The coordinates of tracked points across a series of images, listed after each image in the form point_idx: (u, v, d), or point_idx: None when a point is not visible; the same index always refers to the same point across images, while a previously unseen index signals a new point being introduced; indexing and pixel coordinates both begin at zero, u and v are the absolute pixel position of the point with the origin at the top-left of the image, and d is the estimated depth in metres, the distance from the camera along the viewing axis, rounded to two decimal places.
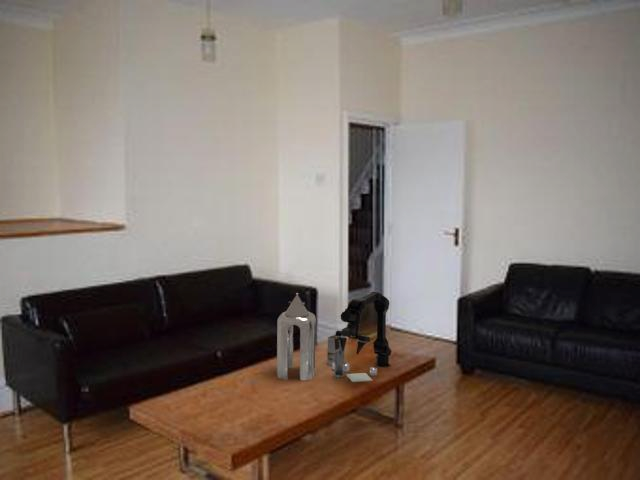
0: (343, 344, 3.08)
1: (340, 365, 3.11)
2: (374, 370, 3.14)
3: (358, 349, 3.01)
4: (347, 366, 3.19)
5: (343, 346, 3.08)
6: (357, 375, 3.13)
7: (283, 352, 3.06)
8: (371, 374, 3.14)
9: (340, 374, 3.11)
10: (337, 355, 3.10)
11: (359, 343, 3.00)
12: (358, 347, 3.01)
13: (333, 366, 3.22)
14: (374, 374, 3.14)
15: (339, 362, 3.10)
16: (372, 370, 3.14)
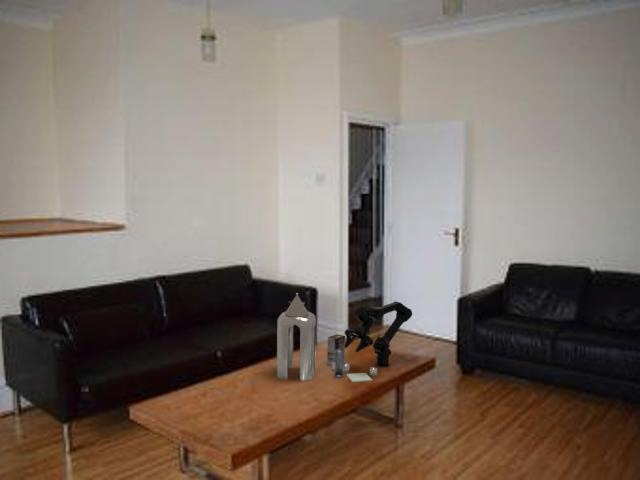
0: (348, 342, 3.21)
1: (340, 365, 3.11)
2: (374, 370, 3.14)
3: (358, 347, 3.13)
4: (347, 366, 3.19)
5: (347, 344, 3.21)
6: (357, 375, 3.13)
7: (283, 352, 3.06)
8: (371, 374, 3.14)
9: (340, 374, 3.11)
10: (337, 355, 3.10)
11: (361, 341, 3.13)
12: (359, 345, 3.13)
13: (333, 366, 3.22)
14: (374, 374, 3.14)
15: (339, 362, 3.10)
16: (372, 370, 3.14)
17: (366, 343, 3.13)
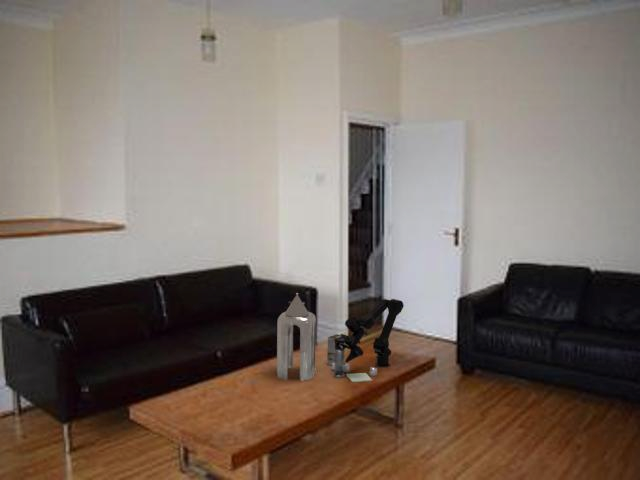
0: None
1: (340, 365, 3.11)
2: (374, 370, 3.14)
3: (348, 357, 3.09)
4: (347, 366, 3.19)
5: None
6: (357, 375, 3.13)
7: (283, 352, 3.06)
8: (371, 374, 3.14)
9: (340, 374, 3.11)
10: (337, 355, 3.10)
11: (351, 351, 3.09)
12: (349, 355, 3.09)
13: (333, 366, 3.22)
14: (374, 374, 3.14)
15: (339, 362, 3.10)
16: (372, 370, 3.14)
17: (356, 353, 3.09)
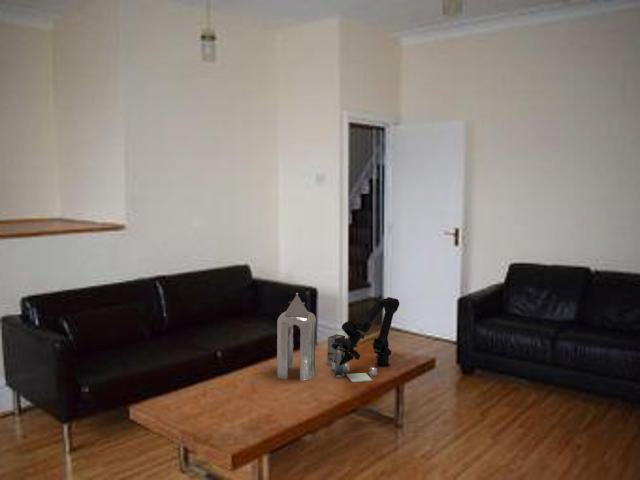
0: None
1: None
2: (374, 370, 3.14)
3: (342, 360, 3.10)
4: (347, 366, 3.19)
5: None
6: (357, 375, 3.13)
7: (283, 352, 3.06)
8: (371, 374, 3.14)
9: (340, 374, 3.11)
10: (337, 355, 3.10)
11: (345, 354, 3.10)
12: (343, 358, 3.10)
13: (333, 366, 3.22)
14: (374, 374, 3.14)
15: (339, 362, 3.10)
16: (372, 370, 3.14)
17: (350, 356, 3.10)
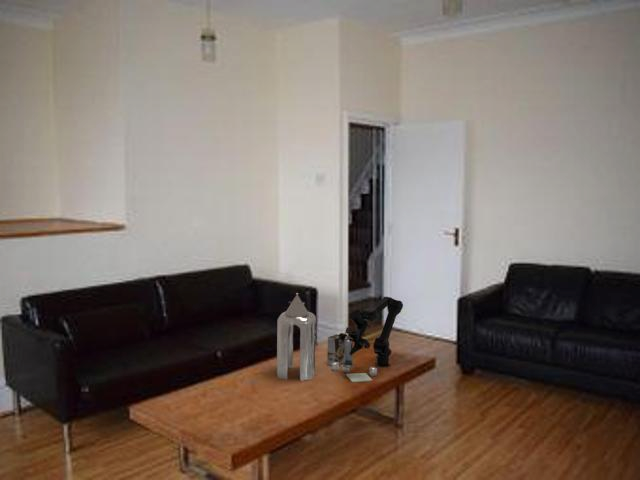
0: None
1: (350, 355, 3.09)
2: (374, 370, 3.14)
3: (352, 350, 3.08)
4: None
5: None
6: (357, 375, 3.13)
7: (283, 352, 3.06)
8: (371, 374, 3.14)
9: (350, 364, 3.09)
10: (347, 345, 3.08)
11: (355, 344, 3.08)
12: (353, 348, 3.08)
13: (333, 366, 3.22)
14: (374, 374, 3.14)
15: (349, 352, 3.08)
16: (372, 370, 3.14)
17: (360, 346, 3.08)
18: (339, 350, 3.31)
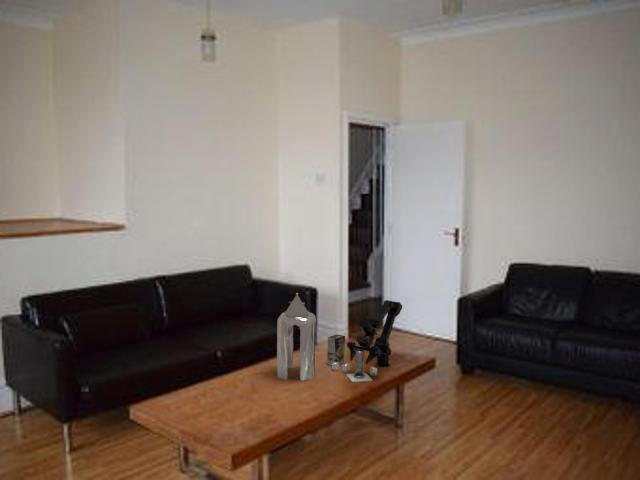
0: (352, 355, 3.13)
1: (362, 366, 3.08)
2: (375, 370, 3.14)
3: (368, 358, 3.06)
4: (347, 366, 3.19)
5: (352, 356, 3.12)
6: None
7: (283, 352, 3.06)
8: (372, 374, 3.14)
9: (362, 375, 3.09)
10: (359, 356, 3.07)
11: (371, 352, 3.07)
12: (368, 357, 3.07)
13: (333, 366, 3.22)
14: (375, 374, 3.14)
15: (361, 363, 3.08)
16: (373, 370, 3.14)
17: (375, 354, 3.08)
18: (339, 350, 3.31)
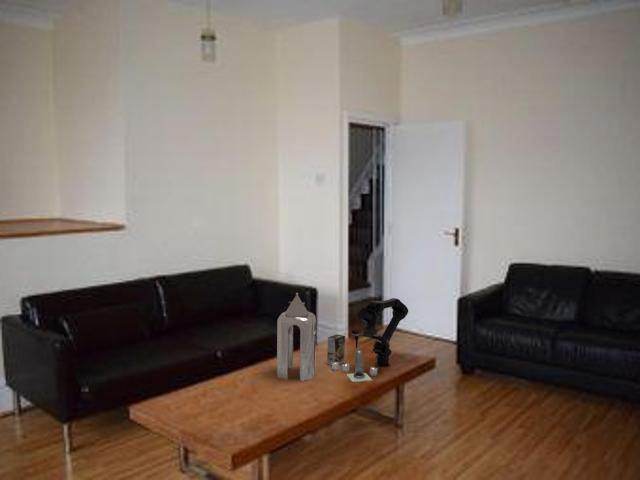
0: (357, 342, 3.21)
1: (362, 365, 3.08)
2: (376, 370, 3.14)
3: (375, 348, 3.19)
4: (347, 366, 3.19)
5: None
6: None
7: (283, 352, 3.06)
8: (373, 374, 3.14)
9: (362, 374, 3.09)
10: (359, 356, 3.07)
11: (377, 343, 3.18)
12: (375, 346, 3.19)
13: (333, 366, 3.22)
14: (376, 374, 3.14)
15: (361, 363, 3.08)
16: (374, 370, 3.14)
17: None
18: (339, 350, 3.31)
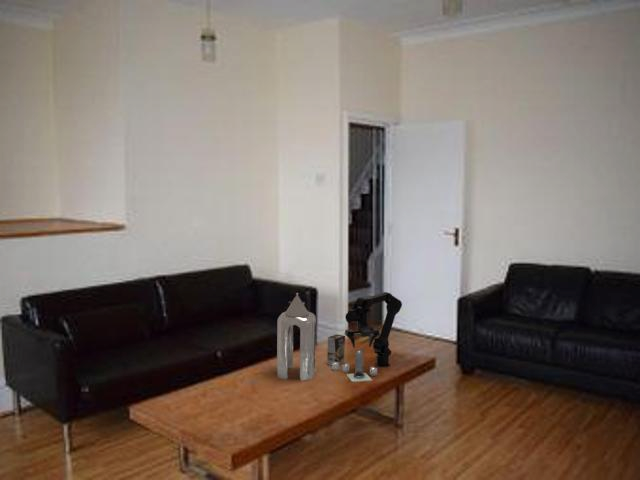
0: None
1: (362, 365, 3.08)
2: (376, 369, 3.14)
3: None
4: (347, 366, 3.19)
5: None
6: None
7: (283, 352, 3.06)
8: (374, 374, 3.14)
9: (362, 374, 3.09)
10: (359, 356, 3.07)
11: (373, 337, 3.21)
12: (371, 341, 3.22)
13: (333, 366, 3.22)
14: (376, 373, 3.15)
15: (361, 363, 3.08)
16: (375, 370, 3.14)
17: None
18: (339, 350, 3.31)
